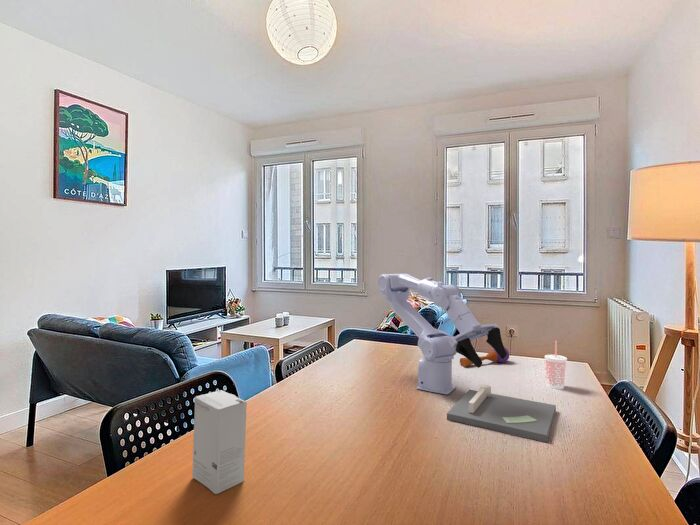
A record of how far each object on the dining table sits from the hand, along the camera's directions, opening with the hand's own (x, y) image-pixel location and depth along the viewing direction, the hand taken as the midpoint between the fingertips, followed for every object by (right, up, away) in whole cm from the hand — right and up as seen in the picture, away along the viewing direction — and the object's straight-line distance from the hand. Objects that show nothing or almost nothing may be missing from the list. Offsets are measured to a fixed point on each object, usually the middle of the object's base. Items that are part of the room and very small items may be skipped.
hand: (492, 361), depth 104 cm
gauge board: (+2, -13, -2) cm, 13 cm away
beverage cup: (+26, -13, +20) cm, 35 cm away
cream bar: (-3, -11, +2) cm, 12 cm away
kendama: (+13, -12, +44) cm, 48 cm away
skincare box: (-60, -14, -31) cm, 69 cm away
